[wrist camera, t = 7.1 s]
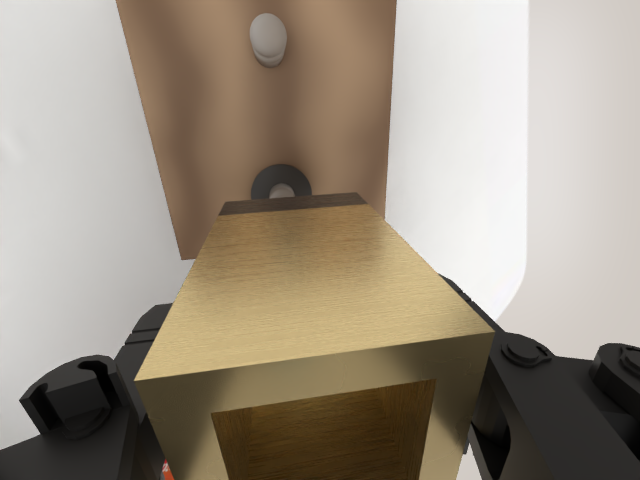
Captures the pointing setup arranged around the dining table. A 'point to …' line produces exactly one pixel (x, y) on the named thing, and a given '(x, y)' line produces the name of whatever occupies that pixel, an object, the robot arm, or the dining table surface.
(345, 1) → the pin board
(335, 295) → the sleeve
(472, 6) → the dining table surface
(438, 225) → the dining table surface
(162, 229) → the dining table surface
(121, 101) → the dining table surface
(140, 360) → the robot arm
